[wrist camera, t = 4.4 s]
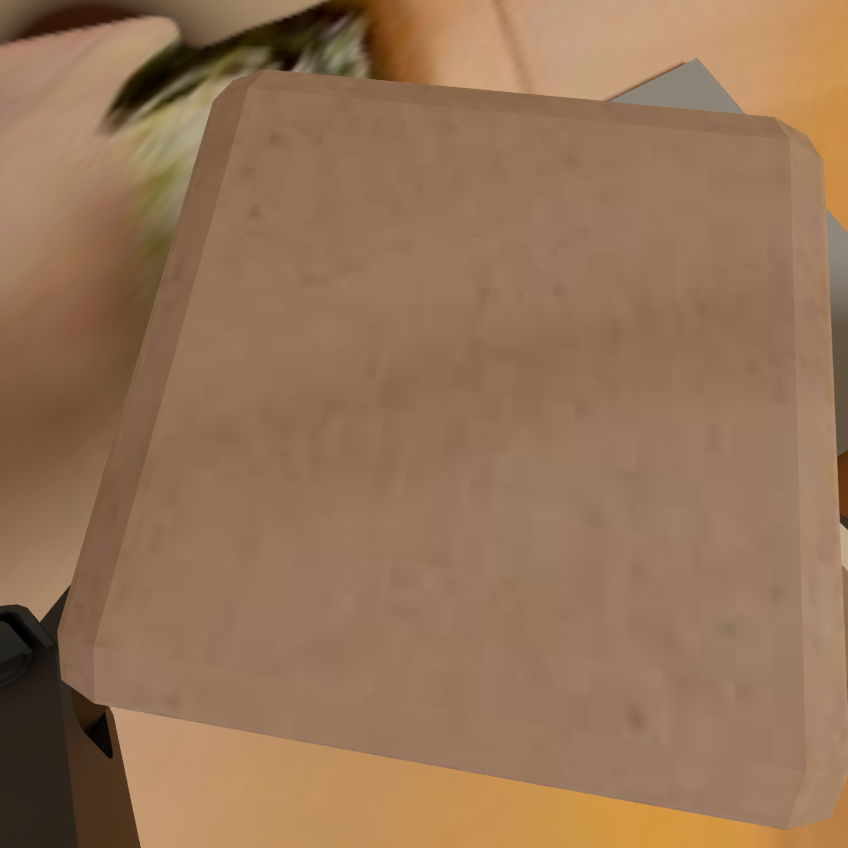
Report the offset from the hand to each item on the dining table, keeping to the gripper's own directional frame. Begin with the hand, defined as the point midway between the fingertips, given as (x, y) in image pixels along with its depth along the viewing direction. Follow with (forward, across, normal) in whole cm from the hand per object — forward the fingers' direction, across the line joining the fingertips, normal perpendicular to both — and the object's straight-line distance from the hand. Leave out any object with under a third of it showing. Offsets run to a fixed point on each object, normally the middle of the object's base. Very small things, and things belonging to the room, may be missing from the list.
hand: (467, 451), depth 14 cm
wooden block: (+9, 0, -9) cm, 12 cm away
